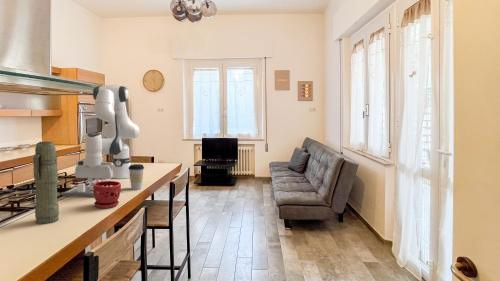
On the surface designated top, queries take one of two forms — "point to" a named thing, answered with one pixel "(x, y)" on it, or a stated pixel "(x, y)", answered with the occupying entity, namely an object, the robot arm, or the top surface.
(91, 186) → the middle lever
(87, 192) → the breaker panel
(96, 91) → the robot arm
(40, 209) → the thermos
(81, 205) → the top surface
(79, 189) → the lever
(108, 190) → the plant pot
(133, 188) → the coffee cup
